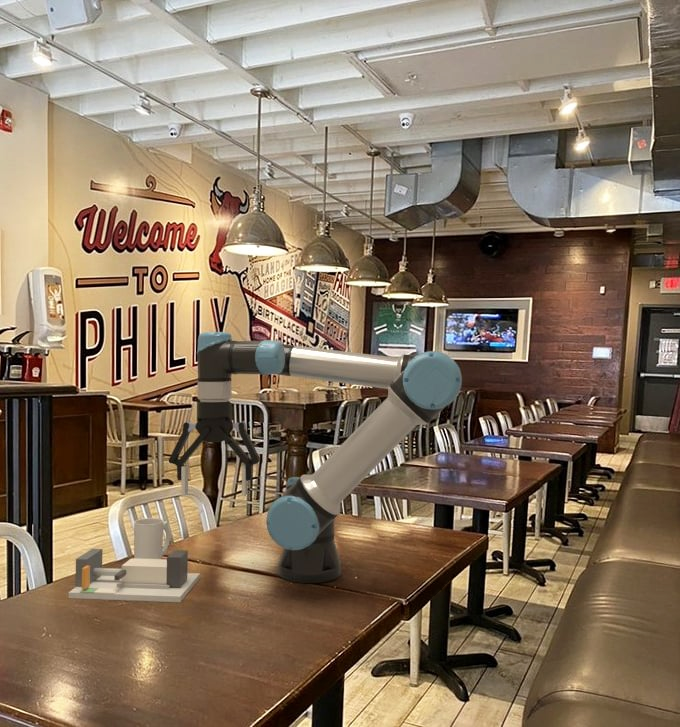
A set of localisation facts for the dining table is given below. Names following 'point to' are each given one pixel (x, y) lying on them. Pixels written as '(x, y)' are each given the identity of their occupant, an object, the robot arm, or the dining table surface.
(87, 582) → the needle
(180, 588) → the base
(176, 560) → the beige and grey block
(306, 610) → the dining table surface
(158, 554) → the mug
